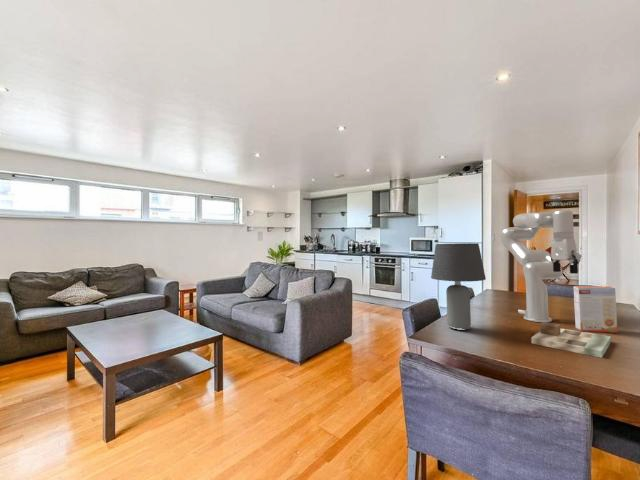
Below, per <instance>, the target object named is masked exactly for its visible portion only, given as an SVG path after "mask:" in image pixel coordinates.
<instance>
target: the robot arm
mask: <svg viewBox="0 0 640 480" xmlns="http://www.w3.org/2000/svg"><path fill="white" fill-rule="evenodd" d="M512 224H513V225H514V226H513V227H506V228H503V229H502V230H501V231H500V241H501V243H502V244H503V246H504V247H505V248H506V249H507V250H508V251H509V252H510V253H511V254H512V256H513V257H514V258H515V259H516V261H517V262H518V263H519V264H520V265H521V266H523V267H522V268H523V269H522V271H523V276H524V279H525V280H524V281H525V293H526V294H525V297H526V301H525V302H526V303H525V304H526V309H524V310H523V309H518V311H517V312H518V313H519V314H520V315H523V319H524V320H526V321H529V322H537V323H543V322H548V323H552V322H553V318H551V317H549V303H548V302H549V296H548V295H549V293H548V286H547V285H546V283H545V282H544V281H543V280H557V279H559V278H561V277H562V276H563V268H562V266H561V263H560V262H562V261H568V262H569V273H570V274H579V271H578V268H579V264H580V262H581V259H582V257H583V256H582V255H581V254H580V253H578V252H577V251H578V250H577V249H578V248H577V244H576V243H577V242H576V240H575V234H574V233H575V232H574V230H575V229H574V213H573V211H572V210H570V209H565V210H562V209H561V210H555V211H540V212H527V213H519V214H517V215H515V216H514V217H513V219H512ZM541 228H552V232H553V239H552V242H551V249H550V250H551V251H550V252H549V251H547V250H544V249H530V248H529V247H527V245H526V244H525V243H523V242H525V241H531V240H533V239H534V238H535V237H536V235H537V234H538V232H539V231H540V229H541ZM522 241H523V242H522Z"/></svg>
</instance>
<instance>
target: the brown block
mask: <svg viewBox="0 0 640 480" xmlns="http://www.w3.org/2000/svg"><path fill="white" fill-rule="evenodd" d="M560 328H561V324H559V323H555V322H554V323H553V322H540V324H539V329H540V330H539V332H540V333H542V334H547V335H553V336H558V335H559V334H561V333H560Z"/></svg>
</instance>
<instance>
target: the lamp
mask: <svg viewBox="0 0 640 480" xmlns="http://www.w3.org/2000/svg"><path fill="white" fill-rule="evenodd" d="M434 246H435V247H434V253H433V255H434V256H433V262H432V269H431V276H430V277H431V279H432V280H437V281H444V282H454V284H451V285H449V286H447V288H446V291H445V292H446V294H445V295H446V316H447V317H446V323H447V326H448V325H449V326H452V327H455V328H462V329H468V328H469V329H471V325H472V321H471V319H472V318H471V316H472V315H471V295H470V294H471V291H470V288H469V287H468V286H466V285H463V284H462V283H461V282H480V281H486V279H487V278H486V273H485V269H484V263H483V259H482V258H483V257H482V254H481V248H480V244H479V243H478V242H477V243H476V242H475V243H473V242H472V243H471V242H468V243H467V242H465V243H460V242H459V243H436V244H435V245H434ZM449 326H448V327H449ZM469 329H468V330H469Z"/></svg>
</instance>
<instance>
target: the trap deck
mask: <svg viewBox="0 0 640 480" xmlns="http://www.w3.org/2000/svg"><path fill="white" fill-rule="evenodd" d="M560 333H561V334H559V335H558V336H553V335H547V334H542V333H540V331H538V332H536V333H535V334H534V335H533V336H531V339H530V340H531V344H533V345H537V346H543V347H547V348H552V349H557V350H563V351H565V352H571V353H576V354H580V355H581V354H582V355H586V356H590V355H591V357H596V358H602V359H603V358H604V355H605V353H606V351H607V350H608V348H609V347H610V345H611V343H612V337H611V336H609V335H603V334H598V333H597V334H596V333H592V332H587V331H580V330H579V331H578V330H573V329H566V328H561V327H560Z"/></svg>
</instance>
